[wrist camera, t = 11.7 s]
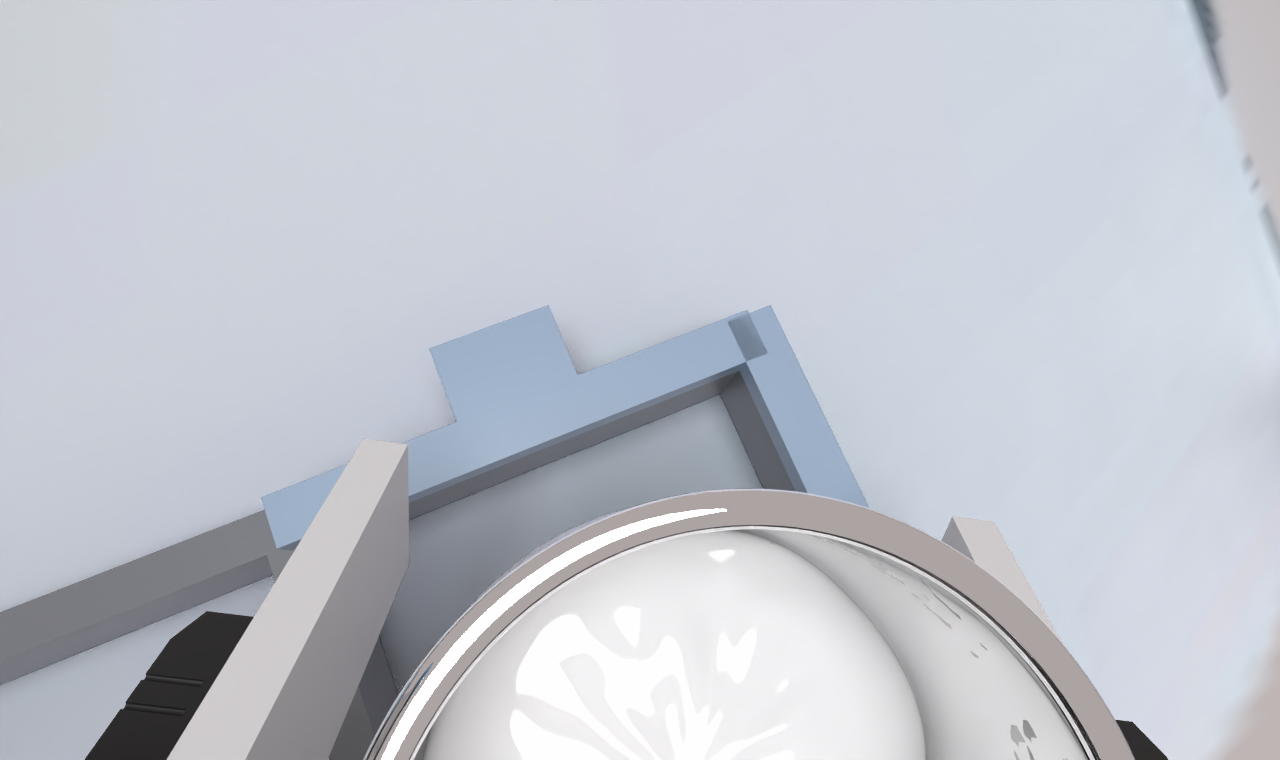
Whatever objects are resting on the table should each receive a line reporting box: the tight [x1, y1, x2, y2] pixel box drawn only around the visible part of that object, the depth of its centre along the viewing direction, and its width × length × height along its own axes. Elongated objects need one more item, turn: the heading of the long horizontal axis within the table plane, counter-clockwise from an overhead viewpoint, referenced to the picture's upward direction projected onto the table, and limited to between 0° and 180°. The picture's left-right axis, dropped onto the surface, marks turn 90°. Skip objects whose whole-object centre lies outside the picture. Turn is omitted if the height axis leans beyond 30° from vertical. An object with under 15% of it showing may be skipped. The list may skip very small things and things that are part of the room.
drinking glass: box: [363, 488, 1135, 760], centre depth 13 cm, size 7×7×15 cm
